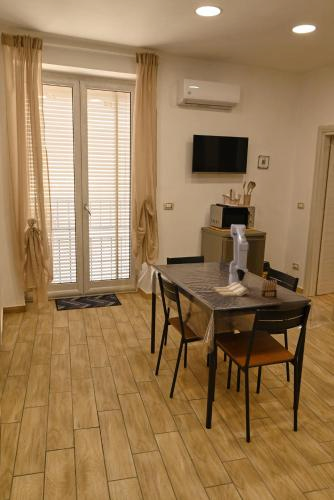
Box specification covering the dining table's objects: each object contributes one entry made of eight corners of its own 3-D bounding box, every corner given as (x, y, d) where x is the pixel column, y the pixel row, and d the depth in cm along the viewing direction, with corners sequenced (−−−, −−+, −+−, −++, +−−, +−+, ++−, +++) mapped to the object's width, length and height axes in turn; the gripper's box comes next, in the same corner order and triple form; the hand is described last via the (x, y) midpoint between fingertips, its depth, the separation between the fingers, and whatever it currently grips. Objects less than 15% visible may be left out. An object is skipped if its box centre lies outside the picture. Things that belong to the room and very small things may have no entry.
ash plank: (227, 289, 274) (226, 287, 273) (237, 283, 275) (235, 281, 275) (238, 297, 257) (237, 294, 256) (249, 291, 258) (247, 288, 258)
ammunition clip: (274, 296, 263) (276, 278, 261) (276, 297, 262) (278, 279, 259) (260, 297, 260) (262, 279, 257) (262, 298, 258) (264, 280, 256)
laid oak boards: (212, 290, 271) (213, 287, 271) (225, 289, 274) (225, 286, 273) (223, 298, 254) (223, 295, 254) (236, 297, 257) (237, 294, 256)
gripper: (231, 258, 268) (230, 277, 271) (241, 263, 255) (239, 283, 257) (241, 258, 270) (240, 277, 273) (251, 262, 257) (249, 283, 259)
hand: (240, 280), depth 265 cm, fingers closed
